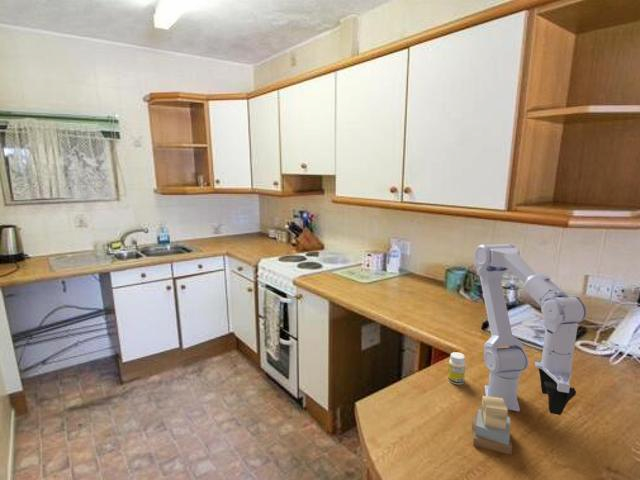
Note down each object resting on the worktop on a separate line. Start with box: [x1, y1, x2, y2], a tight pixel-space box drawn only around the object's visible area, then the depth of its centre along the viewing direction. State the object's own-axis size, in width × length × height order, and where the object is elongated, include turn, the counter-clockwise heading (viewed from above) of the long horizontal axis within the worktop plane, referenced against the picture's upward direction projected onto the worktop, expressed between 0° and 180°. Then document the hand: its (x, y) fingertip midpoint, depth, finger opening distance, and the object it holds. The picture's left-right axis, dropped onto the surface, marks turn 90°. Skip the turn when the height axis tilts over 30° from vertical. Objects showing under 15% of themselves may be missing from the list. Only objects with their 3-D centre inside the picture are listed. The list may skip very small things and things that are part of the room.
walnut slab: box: [471, 416, 513, 455], centre depth 87 cm, size 8×8×2 cm
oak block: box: [480, 395, 509, 430], centre depth 86 cm, size 4×4×5 cm
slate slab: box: [475, 408, 511, 446], centre depth 86 cm, size 7×7×2 cm
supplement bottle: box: [447, 351, 466, 385], centre depth 110 cm, size 5×5×8 cm
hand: (550, 403), depth 84 cm, fingers open, 7 cm apart
